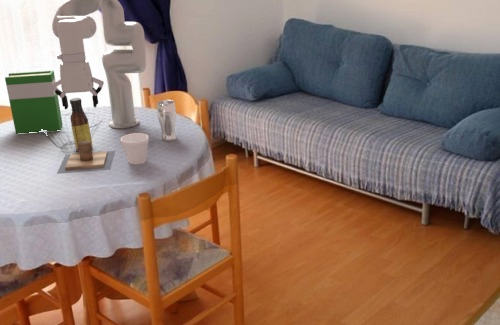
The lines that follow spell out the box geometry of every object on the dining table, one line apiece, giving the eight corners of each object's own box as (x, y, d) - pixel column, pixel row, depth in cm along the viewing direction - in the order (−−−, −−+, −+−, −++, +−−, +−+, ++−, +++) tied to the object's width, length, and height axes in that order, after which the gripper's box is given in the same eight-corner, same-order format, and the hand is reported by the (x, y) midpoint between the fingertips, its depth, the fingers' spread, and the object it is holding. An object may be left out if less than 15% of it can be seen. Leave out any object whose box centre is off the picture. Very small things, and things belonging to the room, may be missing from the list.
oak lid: (71, 156, 212) (68, 138, 209) (107, 153, 213) (105, 135, 210) (65, 170, 200) (62, 151, 197) (103, 167, 201) (101, 148, 198)
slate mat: (65, 155, 214) (65, 154, 214) (115, 151, 216) (115, 150, 215) (56, 174, 197) (56, 173, 197) (110, 170, 199) (110, 169, 199)
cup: (127, 169, 199) (124, 144, 196) (119, 160, 208) (116, 136, 204) (155, 163, 204) (152, 139, 200) (146, 154, 212) (143, 131, 208)
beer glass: (179, 136, 230) (176, 99, 224) (175, 142, 223) (172, 104, 218) (162, 136, 230) (159, 99, 225) (158, 142, 224) (154, 104, 218)
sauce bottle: (96, 148, 220) (89, 97, 213) (85, 153, 215) (77, 102, 208) (82, 145, 223) (75, 96, 215) (71, 151, 218) (63, 100, 210)
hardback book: (16, 134, 238) (4, 77, 229) (19, 129, 245) (8, 73, 236) (60, 131, 240) (50, 74, 231) (62, 125, 247) (53, 70, 238)
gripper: (44, 61, 188) (53, 112, 194) (99, 58, 190) (105, 108, 196) (49, 57, 195) (57, 105, 201) (101, 54, 197) (107, 102, 203)
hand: (81, 107), depth 199 cm, fingers open, 9 cm apart
